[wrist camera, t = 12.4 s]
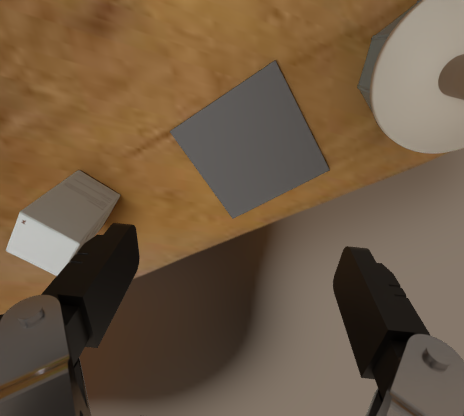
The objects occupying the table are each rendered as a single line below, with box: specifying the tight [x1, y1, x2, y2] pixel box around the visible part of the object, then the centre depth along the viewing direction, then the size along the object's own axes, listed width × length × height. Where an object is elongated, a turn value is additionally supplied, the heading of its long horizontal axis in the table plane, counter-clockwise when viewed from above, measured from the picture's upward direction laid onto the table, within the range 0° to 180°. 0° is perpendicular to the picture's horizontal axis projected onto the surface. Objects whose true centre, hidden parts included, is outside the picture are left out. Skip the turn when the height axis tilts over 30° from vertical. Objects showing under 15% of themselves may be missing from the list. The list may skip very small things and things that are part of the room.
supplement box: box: [6, 170, 120, 276], centre depth 39 cm, size 7×7×13 cm
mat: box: [170, 61, 329, 218], centre depth 39 cm, size 16×16×1 cm
